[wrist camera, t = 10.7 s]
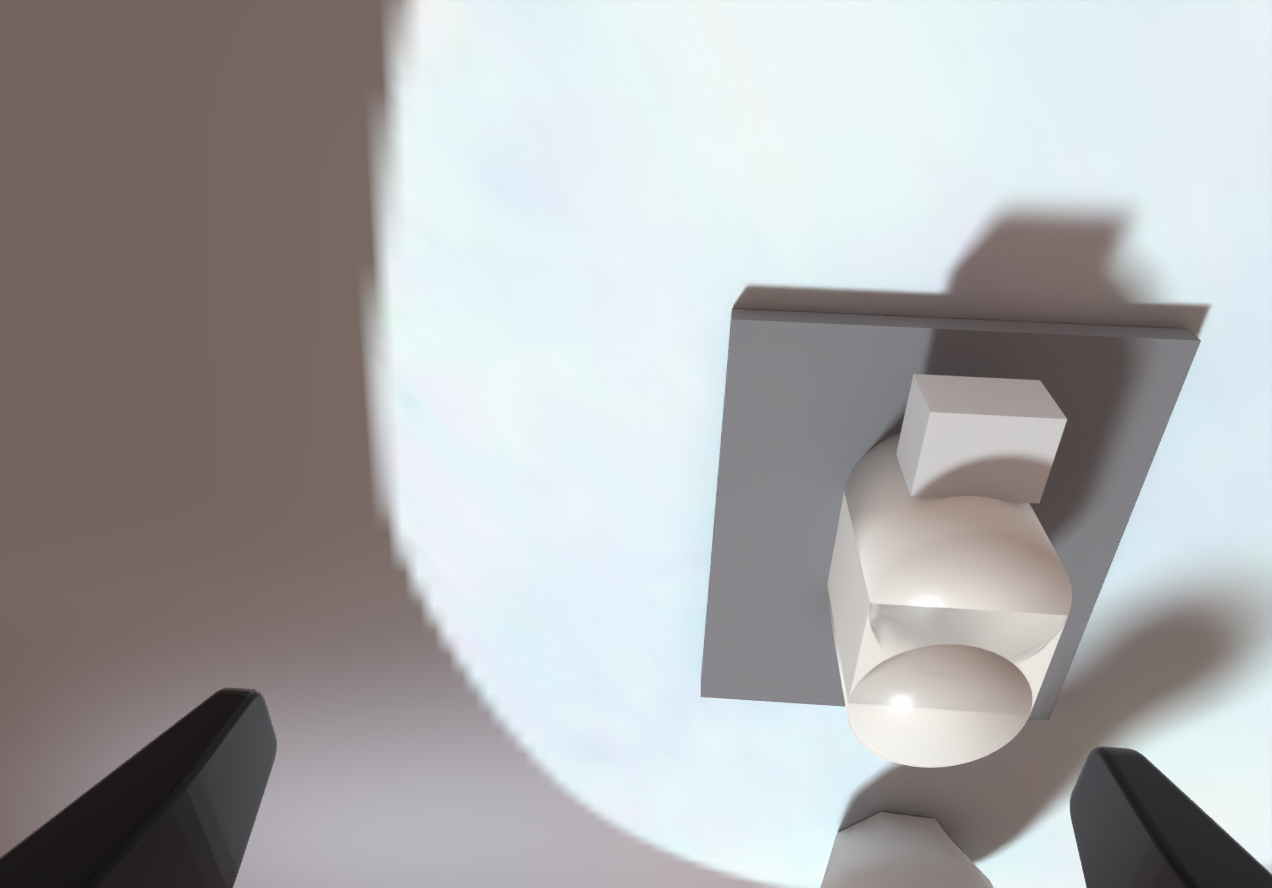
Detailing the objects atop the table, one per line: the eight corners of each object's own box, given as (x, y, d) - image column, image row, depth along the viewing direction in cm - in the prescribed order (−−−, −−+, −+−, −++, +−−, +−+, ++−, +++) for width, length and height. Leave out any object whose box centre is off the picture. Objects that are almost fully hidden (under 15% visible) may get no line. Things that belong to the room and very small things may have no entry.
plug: (964, 648, 24) (1007, 773, 20) (817, 639, 24) (835, 761, 20) (1055, 356, 19) (1130, 455, 16) (870, 347, 19) (905, 442, 16)
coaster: (1187, 329, 19) (1200, 340, 19) (1041, 703, 25) (1048, 720, 25) (732, 308, 20) (732, 319, 19) (700, 681, 26) (700, 696, 25)
